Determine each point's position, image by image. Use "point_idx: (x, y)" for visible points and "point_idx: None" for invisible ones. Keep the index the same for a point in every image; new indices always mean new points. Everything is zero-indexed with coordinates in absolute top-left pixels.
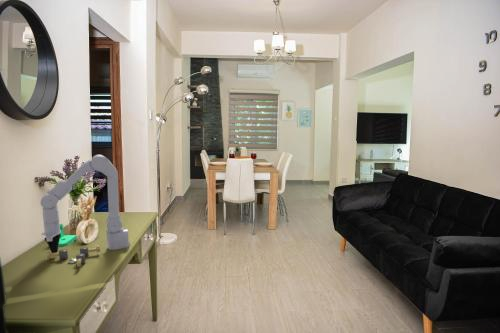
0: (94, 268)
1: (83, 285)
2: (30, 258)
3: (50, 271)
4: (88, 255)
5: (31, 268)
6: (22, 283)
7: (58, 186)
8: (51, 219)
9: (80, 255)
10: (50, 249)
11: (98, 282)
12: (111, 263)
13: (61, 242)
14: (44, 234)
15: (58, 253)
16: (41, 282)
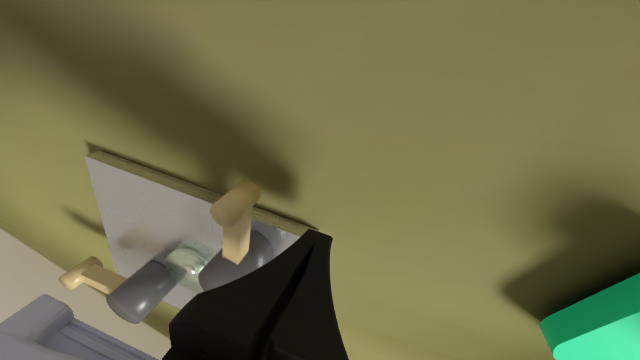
0: None
1: (30, 220)
2: (519, 56)
3: (158, 159)
4: None
5: (243, 64)
6: (44, 14)
7: None
8: None
9: (121, 308)
10: (291, 245)
11: (47, 253)
12: (168, 327)
13: (618, 351)
14: None
15: (221, 256)
16: (51, 107)
